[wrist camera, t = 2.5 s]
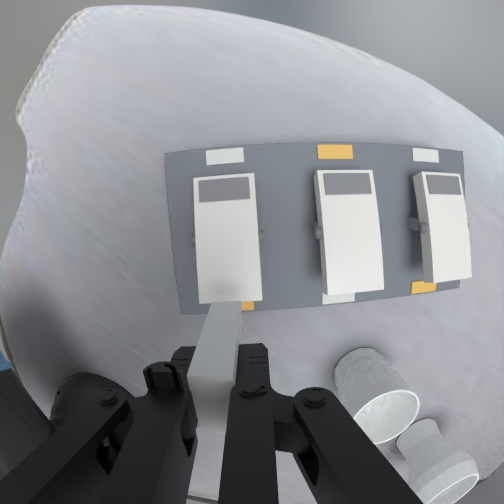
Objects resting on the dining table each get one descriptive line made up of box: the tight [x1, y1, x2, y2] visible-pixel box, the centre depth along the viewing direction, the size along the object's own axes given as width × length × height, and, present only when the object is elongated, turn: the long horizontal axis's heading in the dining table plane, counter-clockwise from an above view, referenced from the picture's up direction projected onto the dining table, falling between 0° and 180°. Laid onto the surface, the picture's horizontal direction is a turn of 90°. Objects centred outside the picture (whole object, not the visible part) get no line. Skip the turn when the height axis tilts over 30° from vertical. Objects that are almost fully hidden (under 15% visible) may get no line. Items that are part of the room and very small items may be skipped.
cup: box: [396, 418, 479, 504], centre depth 31 cm, size 11×11×15 cm
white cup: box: [334, 348, 420, 444], centre depth 30 cm, size 8×8×10 cm
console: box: [165, 142, 465, 314], centre depth 27 cm, size 28×14×8 cm, turn 94°
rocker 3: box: [413, 172, 472, 283], centre depth 22 cm, size 5×9×2 cm, turn 4°
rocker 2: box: [313, 170, 384, 295], centre depth 22 cm, size 5×9×2 cm, turn 4°
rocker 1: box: [191, 173, 264, 304], centre depth 22 cm, size 5×9×2 cm, turn 4°
